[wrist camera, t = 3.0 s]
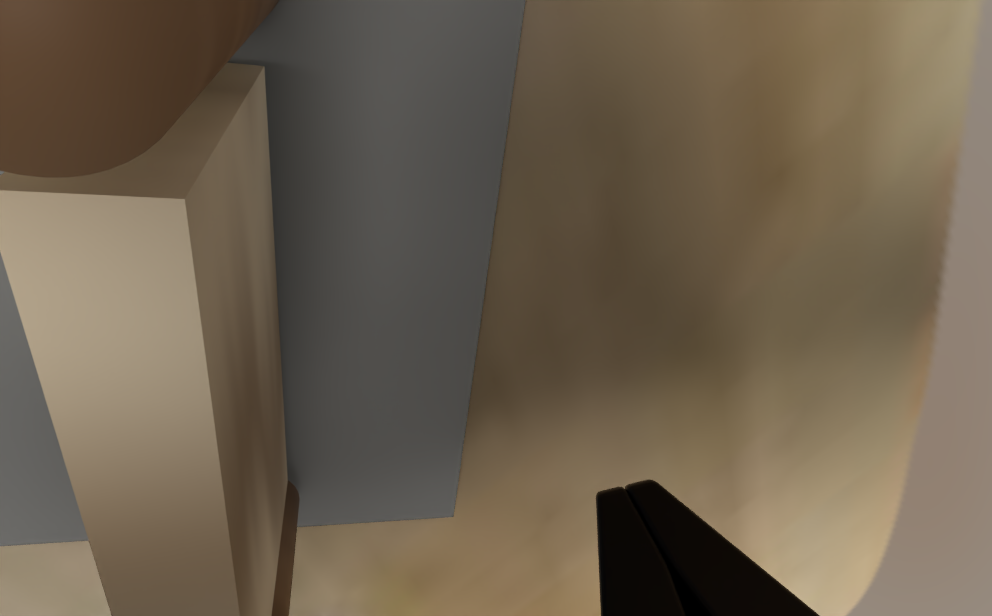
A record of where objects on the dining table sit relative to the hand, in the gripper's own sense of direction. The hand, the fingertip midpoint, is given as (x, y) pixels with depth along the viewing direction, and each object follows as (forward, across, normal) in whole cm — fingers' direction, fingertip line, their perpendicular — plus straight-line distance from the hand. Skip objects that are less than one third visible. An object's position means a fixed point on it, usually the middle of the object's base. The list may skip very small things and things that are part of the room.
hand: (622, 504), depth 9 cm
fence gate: (+3, +5, -2) cm, 6 cm away
